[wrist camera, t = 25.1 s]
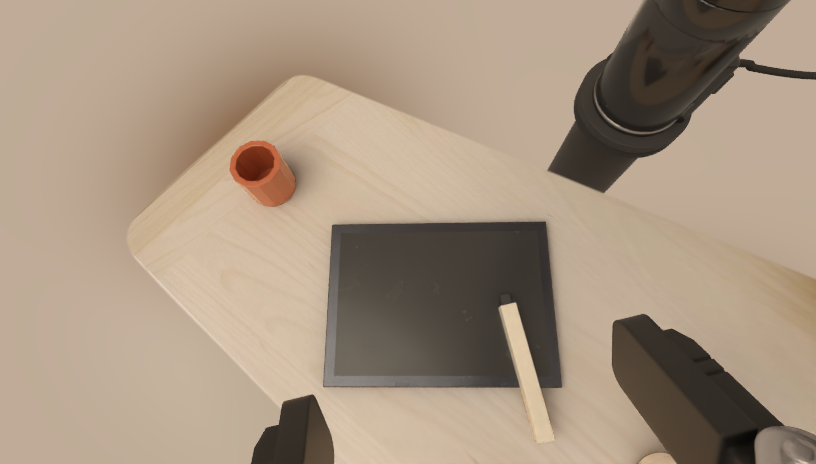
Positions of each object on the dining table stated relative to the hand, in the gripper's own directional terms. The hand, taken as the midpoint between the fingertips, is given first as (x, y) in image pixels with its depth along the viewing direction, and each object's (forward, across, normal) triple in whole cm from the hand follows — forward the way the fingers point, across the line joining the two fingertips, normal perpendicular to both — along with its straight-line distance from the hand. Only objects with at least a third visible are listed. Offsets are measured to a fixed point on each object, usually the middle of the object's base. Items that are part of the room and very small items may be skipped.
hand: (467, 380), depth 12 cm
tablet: (+28, -2, +18) cm, 33 cm away
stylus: (+26, -8, +18) cm, 32 cm away
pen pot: (+39, +13, +6) cm, 42 cm away
